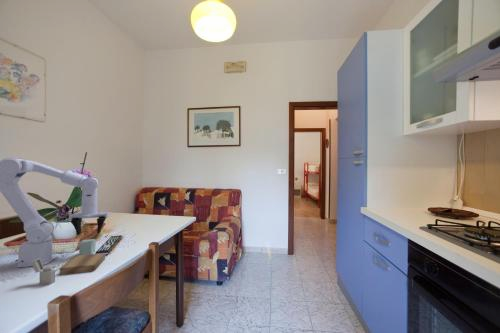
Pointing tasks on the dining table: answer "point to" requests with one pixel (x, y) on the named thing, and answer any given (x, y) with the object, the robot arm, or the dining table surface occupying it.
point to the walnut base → (82, 264)
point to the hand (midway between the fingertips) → (89, 233)
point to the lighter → (44, 272)
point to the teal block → (87, 247)
